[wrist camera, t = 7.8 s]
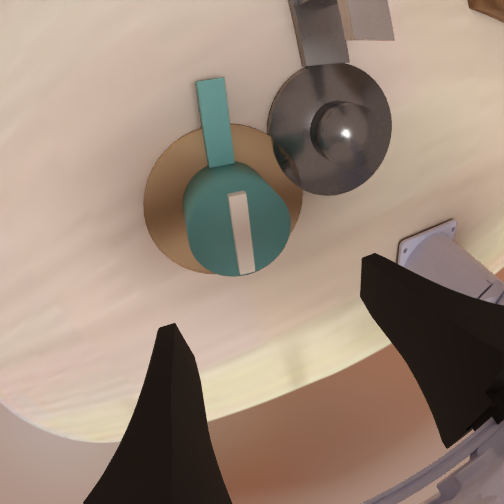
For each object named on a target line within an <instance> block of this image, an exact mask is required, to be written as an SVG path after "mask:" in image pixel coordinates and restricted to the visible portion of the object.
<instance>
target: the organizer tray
mask: <svg viewBox="0 0 504 504" xmlns="http://www.w3.org/2000/svg"><path fill="white" fill-rule="evenodd" d="M468 2H469V7H470V8H471V9H473V10H476V11H478V12H481V13H483V14H486V15H488V16H490V17H493V18H495V19H497V20H500V21H502V22H504V0H468Z"/></svg>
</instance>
